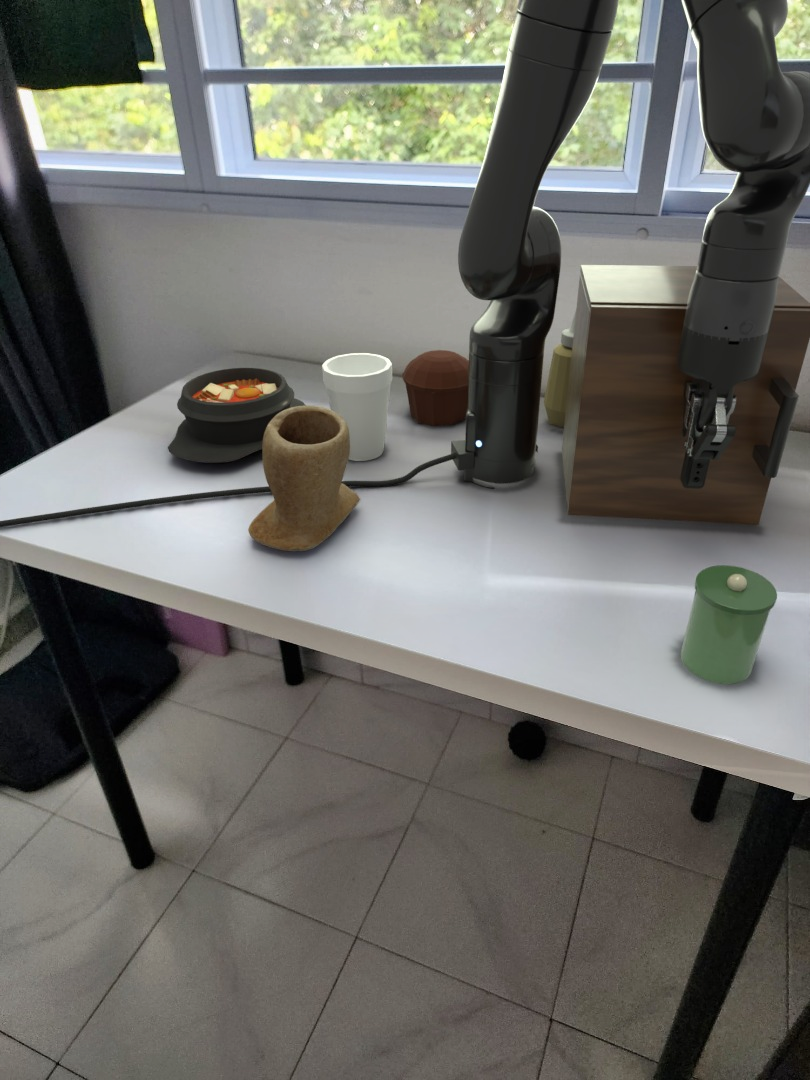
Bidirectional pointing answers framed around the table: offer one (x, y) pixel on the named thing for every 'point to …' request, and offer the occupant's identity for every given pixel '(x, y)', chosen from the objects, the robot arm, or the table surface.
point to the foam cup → (360, 399)
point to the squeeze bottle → (559, 378)
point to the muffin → (437, 387)
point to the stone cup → (304, 478)
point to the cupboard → (629, 290)
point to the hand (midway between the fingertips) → (691, 485)
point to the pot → (726, 623)
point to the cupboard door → (675, 420)
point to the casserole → (229, 413)
